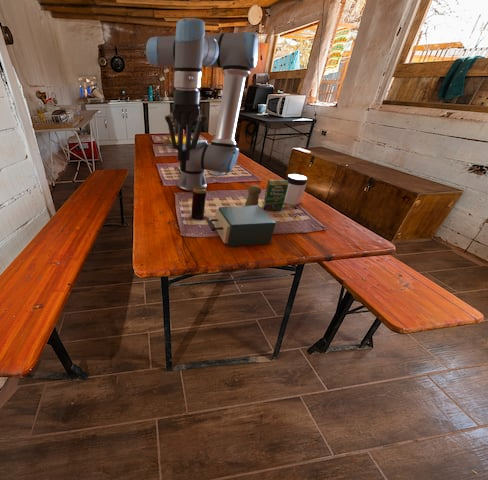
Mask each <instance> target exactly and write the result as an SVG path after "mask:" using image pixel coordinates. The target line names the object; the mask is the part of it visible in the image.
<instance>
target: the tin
mask: <svg viewBox="0 0 488 480" xmlns="http://www.w3.org/2000/svg"><path fill="white" fill-rule="evenodd" d="M207 190H208V188H207V186H206V187H203V186H195V187H193V192H192V200H191V211H190V212H191V213H190V217H191V219H193V220H196V221H199V220H203V219H204V217H205V208H206V200H207Z"/></svg>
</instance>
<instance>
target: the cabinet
mask: <svg viewBox="0 0 488 480" xmlns="http://www.w3.org/2000/svg"><path fill="white" fill-rule="evenodd" d="M218 210H219V211H220V212H221V213H222V215H223V216H224V217H225V219H226V220H227V221H228V223H229V224H230V232H229V238H228V243H226V246H227V247H240V246H241V247H244V246H259V245H270V244H271V242H272V239H273V235H274V231H275V228H276V224H277V222H276V220H274V219H273V218H272V216H270V215H269V214H268V213H267V212H266V211H265V209H263V207H261V206H260V205H259V204H258V205H256V206H245V205H236V206H235V205H234V206H233V205H232V206H218Z"/></svg>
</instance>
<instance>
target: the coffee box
mask: <svg viewBox="0 0 488 480" xmlns="http://www.w3.org/2000/svg"><path fill="white" fill-rule="evenodd" d="M288 184H289V182H288V181H287V179H286V180H285V179H281V180H280V179H268V181H267V185H266V189H265V195H264V199H263V203H262V209H263V210H266V211H281V212H282V210H283V207H284V204H285V203H284V200H285V196H286V192H287V188H288Z"/></svg>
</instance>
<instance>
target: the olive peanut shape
mask: <svg viewBox="0 0 488 480" xmlns="http://www.w3.org/2000/svg"><path fill="white" fill-rule="evenodd" d="M247 191H248V195H247V198H246V200H245V203H244V206H256V205H259V198H260V195H261V193H262V192H261V191H262V187H261V186H259V185H256V184H253V185H250V186H249V187H248V189H247Z"/></svg>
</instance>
